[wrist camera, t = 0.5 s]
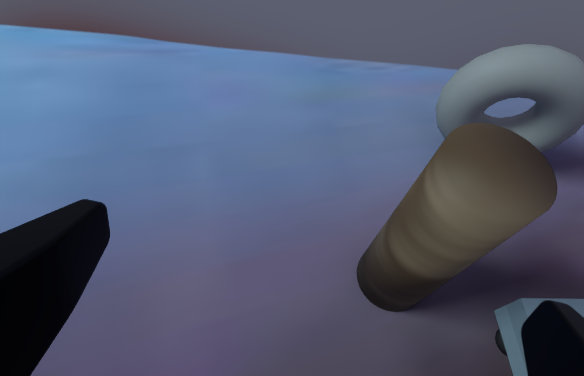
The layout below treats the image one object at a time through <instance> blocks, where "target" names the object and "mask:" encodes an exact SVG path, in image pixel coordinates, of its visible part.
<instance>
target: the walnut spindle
mask: <svg viewBox="0 0 584 376" xmlns="http://www.w3.org/2000/svg"><path fill="white" fill-rule="evenodd" d="M556 195H557V181H556V177H555V174H554V172H553V169H552V168H551V166H550V164H549V162H548V161H547V159H546V158H545V157H544V156H543V154H542V153H541V152H540V151H539V150H538V149H537V148H536V147H535V146H534V145H533V144H531V143H530V142H529V141H528V140H526V139H525V138H523V137H522V136H520V135H518V134H517V133H515V132H513V131H511V130H508V129H506V128H503V127H500V126H497V125H493V124H487V123H470V124H465V125H462V126H460V127H458V128H456V129H454V130H453V131H452V132H451V133H450V134H449V135H448V136H447V137H446V139H445V140H444V142H443V143H442V144H441V146H440V147H439V149H438V150H437V151H436V153H435V154H434V156H433V157H432V158H431V160H430V161H429V163H428V164H427V166H426V167H425V168H424V170H423V171H422V173H421V174H420V175H419V177H418V178H417V180H416V181H415V182H414V184H413V185H412V187H411V188H410V189H409V191H408V192H407V194H406V195H405V197H404V198H403V199H402V201H401V202H400V204H399V205H398V206H397V208H396V209H395V211H394V212H393V213H392V215H391V216H390V218H389V219H388V221H387V222H386V223H385V225H384V226H383V228H382V229H381V230H380V232H379V233H378V235H377V236H376V237H375V239H374V240H373V242H372V243H371V245H370V246H369V247H368V249H367V250H366V252H365V253H364V254H363V256H362V257H361V259H360V261H359V263H358V267H357V279H358V283H359V286H360V288H361V290H362V292H363V294H364V295H365V296H366V298H367V299H368V300H369V301H370V302H372V303H373V304H374V305H376V306H377V307H379V308H381V309H384V310H387V311H394V312H398V311H404V310H407V309H409V308H411V307H412V306H414V305H415V304H416V303H418V302H419V301H421V300H422V299H423V298H425V297H426V296H428V295H429V294H431V293H432V292H433V291H435V290H436V289H438V288H439V287H440V286H442V285H443V284H445V283H446V282H447V281H449V280H450V279H452V278H453V277H455V276H456V275H457V274H459V273H460V272H462V271H463V270H464V269H466V268H467V267H469V266H470V265H472V264H473V263H474V262H476V261H477V260H479V259H480V258H481V257H483V256H484V255H486V254H487V253H488V252H490V251H491V250H493V249H494V248H496V247H497V246H498V245H500V244H501V243H503V242H504V241H505V240H507V239H508V238H510V237H511V236H512V235H514V234H515V233H517V232H518V231H520V230H521V229H522V228H524V227H525V226H527V225H528V224H529V223H531V222H532V221H534V220H535V219H536V218H538V217H539V216H541V215H542V214H544V213H545V212H546V211H547V210H549V209H550V207H551V206H552V205H553V203H554V201H555V199H556Z"/></svg>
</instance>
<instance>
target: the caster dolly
mask: <svg viewBox="0 0 584 376" xmlns="http://www.w3.org/2000/svg"><path fill="white" fill-rule="evenodd" d="M545 300H552V301H556V302H561V303H565V304H568V305H570V306H571V307H572V308H573V309H575V310H576V311H577V312H578V313H579V314H580V315H581V316H583V317H584V299H551V298H520V299H518V300H516V301H514V302H512V303H509V304H507V305H505V306H503V307H501V308H499V309H496V310H494V312H495V315H496V319H497V322H498V325H499V330H498V331H497V332H496V336H495V339H496V344H497V346H498V348H499V349H500V351H501V352H502V353H503V354H505V355H506V356H508V359H509V362H510V366H511V369H512V372H513V376H528V374H527V368H526V362H525V356H524V350H523V344H522V338H521V328H522V325H523V323H524V321H525V320H526V319H527V318H528V317H529V316H530V314H531V313H532V312H533V311H534V310H535V309H536V308H537V306H538V305H539V304H540V303H541V302H543V301H545Z"/></svg>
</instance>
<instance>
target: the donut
mask: <svg viewBox="0 0 584 376" xmlns="http://www.w3.org/2000/svg"><path fill="white" fill-rule="evenodd" d="M517 97H520V98H529V99H532V100H534V101H536V103H535V105H534V106H533V107H531V108H530V109H529V110H528V111H526V112H524V113H522V114H519V115H515V116H512V117H504V118H497V117H491V116H489V115H486V114H485V113H484V111H485V110H486V109H487V108H488V107H489V106H491V105H493V104H494V103H496V102H498V101H501V100H505V99H508V98H517ZM436 120H437V126H438V128H439V130H440V132H441V133H442V135H443V136H444V138H445V139H446V137H447V136H448V135H449V134H450V133H451V132H452V131H453V130H454V129H456V128H458V127H460V126H462V125H465V124H470V123H487V124H493V125H497V126H500V127H503V128H506V129H508V130H511V131H513V132H515V133H517V134H518V135H520V136H522V137H523V138H525V139H526V140H528V141H529V142H530V143H531V144H533V145H534V146H535V147H536V148H537V149H538V150H539V151H540V152H541V153H542V152H544V151H546V150H549V149H551V148H554V147H556V146H557V145H559V144H560V143H562V142H563V141H565V140H566V139H568V138H569V137H571V136H572V135H574V134H575V133H576V132H577V131H578V130H579V129H580V128H581V126H582V125H583V124H584V63H583V62H582V61H581V60H580V59H579V58H578V57H577V56H575V55H573V54H570V53H568V52H565V51H563V50H560V49H558V48H556V47H553V46H546V45H533V44H523V45H517V46H510V47H504V48H500V49H497V50H495V51H492V52H490V53H487V54H484V55H481V56H479V57H477V58H475V59H474V60H472V61H471V62H469V63H468V64H466V65H465V66H463V67H462V68H460V69H459V70H458V71H457V72H456V73H455V74H454V75H453V77H452V78H451V79H450V80H449V81H448V82H447V84H446V85H445V86H444V87H443V88H442V91H441V94H440V96H439V99H438V102H437V105H436Z"/></svg>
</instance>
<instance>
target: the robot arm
mask: <svg viewBox="0 0 584 376" xmlns="http://www.w3.org/2000/svg"><path fill="white" fill-rule="evenodd" d="M109 238H110V228H109V221H108V214H107V208H106V206H105V204H103V203H102V202H97V201H93V200H88V199H82V200H79V201H77V202H75V203H72V204H70V205H67V206H65V207H63V208H60V209H58V210H55V211H53V212H51V213H48V214H46V215H43V216H41V217H39V218H36V219H34V220H32V221H29V222H27V223H24V224H22V225H20V226H17V227H15V228H12V229H10V230H8V231H5V232H3V233H0V376H30V375H31V374H32V372H33V371H34V369H35V368H36V366H37V365H38V363H39V362H40V360H41V359H42V357H43V356H44V354H45V353H46V351H47V350H48V348H49V347H50V345H51V344H52V342H53V340H54V339H55V337H56V336H57V334H58V333H59V331H60V330H61V328H62V327H63V325H64V324H65V322H66V321H67V319H68V318H69V316H70V314H71V313H72V311H73V310H74V308H75V306H76V304H77V303H78V301H79V299H80V297H81V295H82V293H83V291H84V289H85V287H86V285H87V283H88V281H89V280H90V278H91V276H92V274H93V272H94V270H95V268H96V266H97V264H98V262H99V260H100V258H101V256H102V254H103V252H104V250H105V248H106V247H107V244H108V242H109ZM521 338H522V344H523V350H524V356H525V362H526V368H527V374H528V376H584V317H583V316H581V315H580V314H579V313H578V312H577V311H576V310H575V309H573V308H572V307H571V306H570V305H568V304H565V303H561V302H556V301H552V300H545V301H543V302H541V303H540V304H539V305H538V306H537V308H536V309H535V310H534V311H533V312H532V313H531V314H530V316H529V317H528V318H527V319H526V320H525V321H524V323H523V325H522V328H521Z"/></svg>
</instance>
